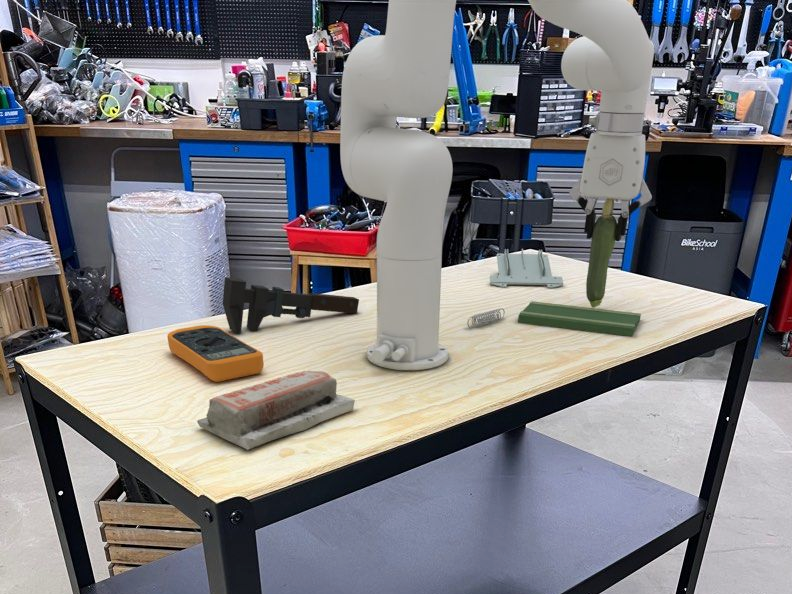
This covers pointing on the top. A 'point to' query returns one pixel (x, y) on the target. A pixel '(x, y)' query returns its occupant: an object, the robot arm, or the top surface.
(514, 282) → the metal bracket
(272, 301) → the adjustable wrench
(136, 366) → the top surface
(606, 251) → the vegetable
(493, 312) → the spring
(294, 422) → the packaged product
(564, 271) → the top surface
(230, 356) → the multimeter
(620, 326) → the green rectangular slab
